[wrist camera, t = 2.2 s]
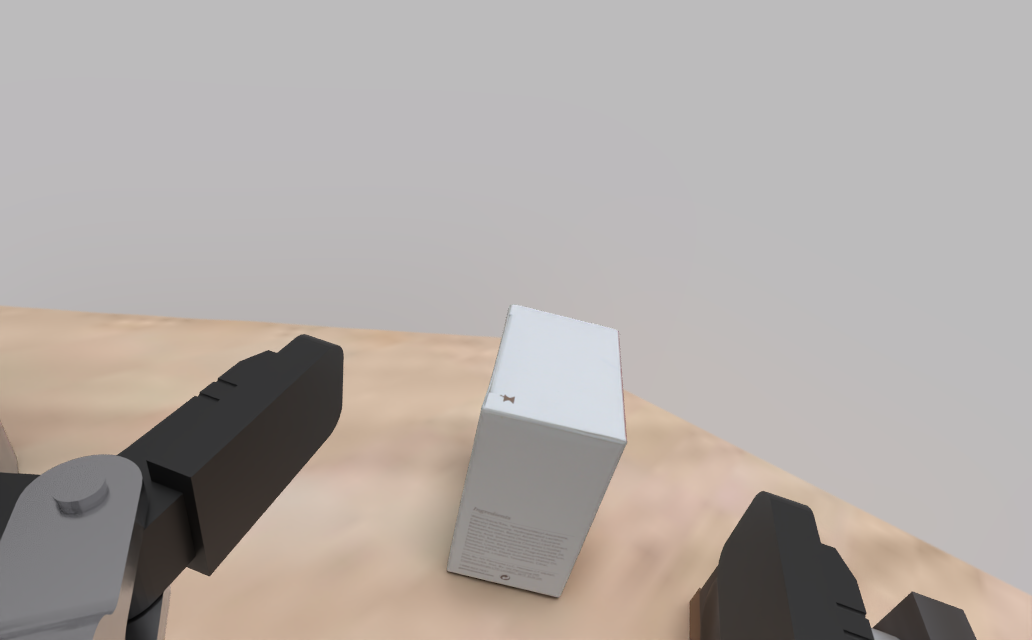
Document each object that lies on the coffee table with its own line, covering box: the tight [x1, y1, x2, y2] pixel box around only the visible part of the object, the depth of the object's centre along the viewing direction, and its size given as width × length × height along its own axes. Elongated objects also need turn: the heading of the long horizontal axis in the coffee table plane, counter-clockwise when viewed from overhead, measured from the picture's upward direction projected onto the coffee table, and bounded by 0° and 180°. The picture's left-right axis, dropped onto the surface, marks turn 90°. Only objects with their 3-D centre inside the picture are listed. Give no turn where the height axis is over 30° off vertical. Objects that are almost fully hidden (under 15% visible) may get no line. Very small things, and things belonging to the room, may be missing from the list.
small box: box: [447, 304, 627, 597], centre depth 26 cm, size 8×6×10 cm
